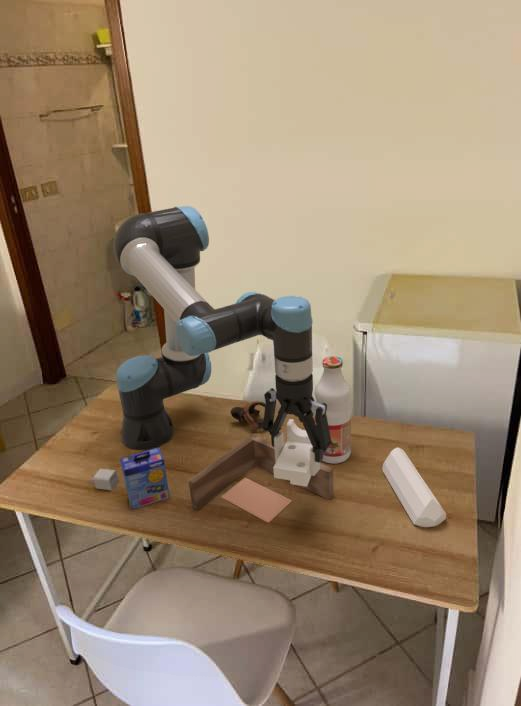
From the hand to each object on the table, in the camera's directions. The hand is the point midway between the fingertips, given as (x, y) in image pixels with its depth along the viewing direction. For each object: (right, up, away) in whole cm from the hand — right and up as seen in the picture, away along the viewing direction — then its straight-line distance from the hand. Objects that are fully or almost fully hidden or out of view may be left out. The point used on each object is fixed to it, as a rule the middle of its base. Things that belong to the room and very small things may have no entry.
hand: (297, 465), depth 120 cm
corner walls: (-7, -11, +12) cm, 18 cm away
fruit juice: (+11, -3, +28) cm, 30 cm away
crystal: (+28, -10, +11) cm, 32 cm away
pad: (-9, -11, +13) cm, 19 cm away
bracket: (0, 0, +1) cm, 1 cm away
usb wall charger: (-48, -10, +22) cm, 54 cm away
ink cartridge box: (-35, -12, +16) cm, 41 cm away
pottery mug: (-11, +3, +43) cm, 45 cm away
